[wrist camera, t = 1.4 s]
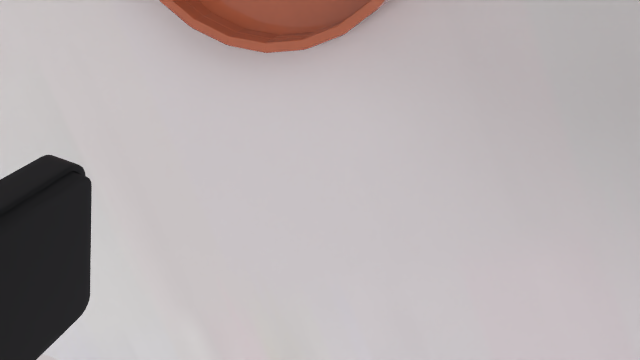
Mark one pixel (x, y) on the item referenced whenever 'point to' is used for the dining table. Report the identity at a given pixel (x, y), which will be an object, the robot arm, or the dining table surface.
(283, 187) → the dining table surface
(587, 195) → the dining table surface
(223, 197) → the dining table surface
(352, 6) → the bowl
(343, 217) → the dining table surface
